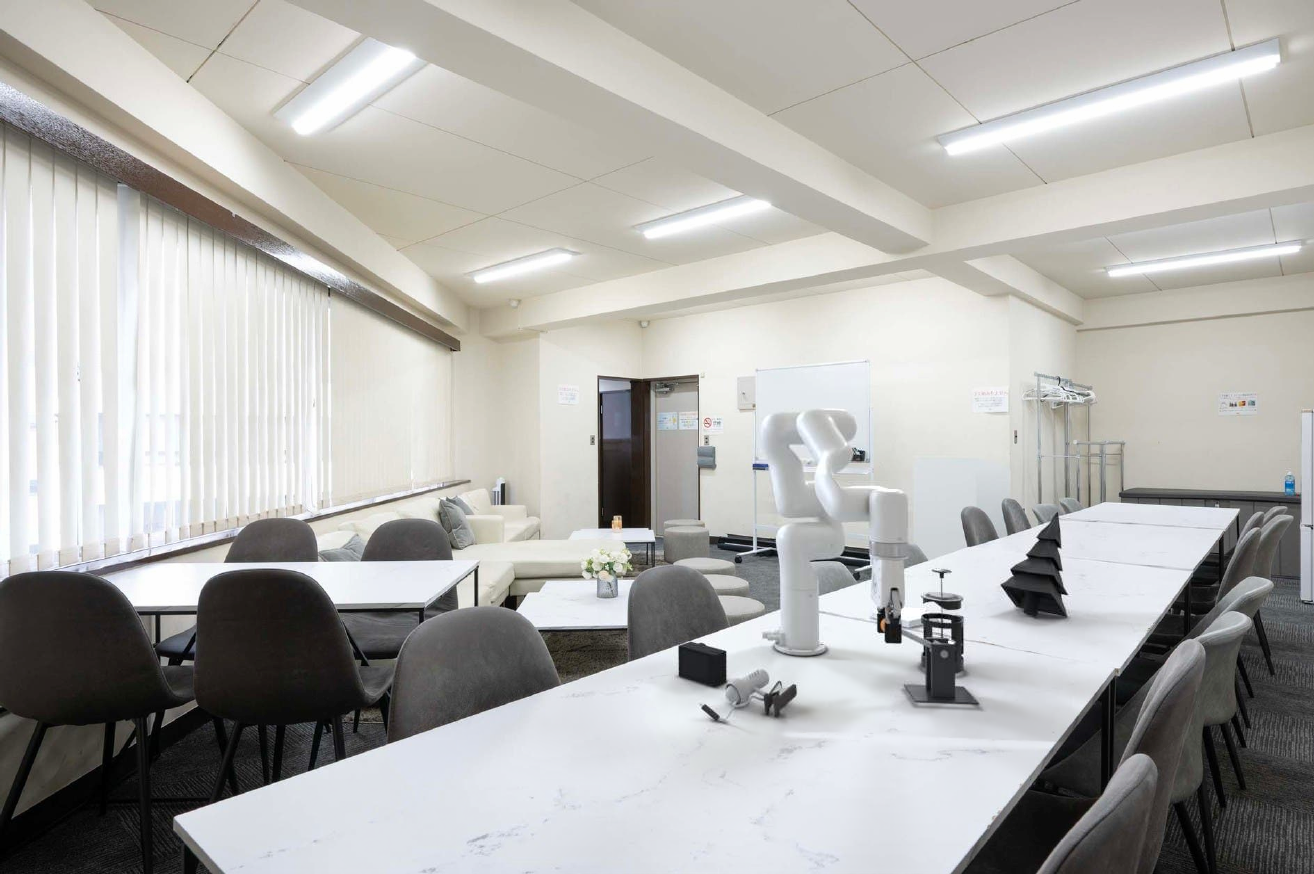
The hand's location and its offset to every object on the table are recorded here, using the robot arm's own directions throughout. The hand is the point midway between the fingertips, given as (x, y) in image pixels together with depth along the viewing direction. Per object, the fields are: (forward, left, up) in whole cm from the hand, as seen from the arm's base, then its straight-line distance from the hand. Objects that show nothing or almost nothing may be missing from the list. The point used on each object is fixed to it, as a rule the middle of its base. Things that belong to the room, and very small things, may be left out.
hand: (889, 637), depth 139 cm
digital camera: (-38, +7, -13) cm, 41 cm away
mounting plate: (+18, +62, -12) cm, 66 cm away
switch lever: (+4, 0, -1) cm, 4 cm away
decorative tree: (+61, +74, -13) cm, 97 cm away
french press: (+16, +18, -12) cm, 27 cm away
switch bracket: (+10, 0, -12) cm, 16 cm away
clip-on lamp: (-29, -10, -13) cm, 33 cm away
